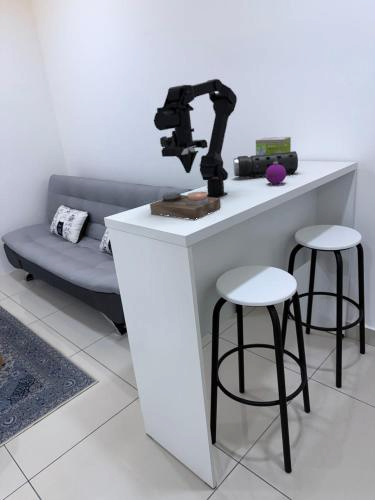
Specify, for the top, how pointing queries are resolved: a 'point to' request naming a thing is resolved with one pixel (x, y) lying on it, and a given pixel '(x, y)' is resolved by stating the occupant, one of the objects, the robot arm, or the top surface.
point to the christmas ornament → (275, 173)
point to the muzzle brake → (264, 164)
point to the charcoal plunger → (171, 197)
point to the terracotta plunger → (197, 198)
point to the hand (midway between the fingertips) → (188, 172)
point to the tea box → (273, 145)
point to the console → (185, 208)
